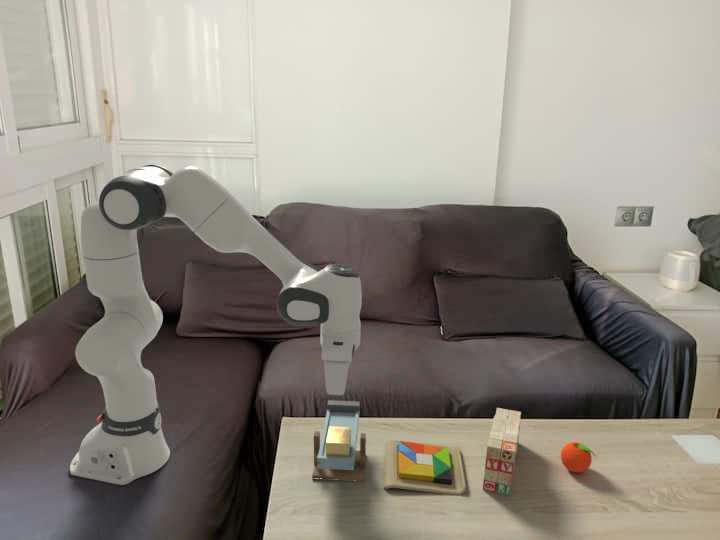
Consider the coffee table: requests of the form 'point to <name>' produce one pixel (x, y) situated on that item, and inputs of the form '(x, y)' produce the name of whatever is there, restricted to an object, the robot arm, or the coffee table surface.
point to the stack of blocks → (502, 452)
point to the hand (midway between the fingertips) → (339, 391)
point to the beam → (339, 417)
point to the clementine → (576, 457)
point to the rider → (338, 441)
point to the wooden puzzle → (423, 467)
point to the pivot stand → (336, 473)
